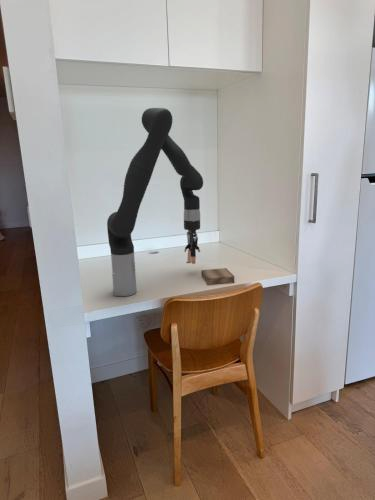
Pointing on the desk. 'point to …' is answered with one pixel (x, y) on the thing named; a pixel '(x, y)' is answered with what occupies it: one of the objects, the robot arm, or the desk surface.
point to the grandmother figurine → (190, 259)
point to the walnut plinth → (217, 276)
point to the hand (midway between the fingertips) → (192, 255)
